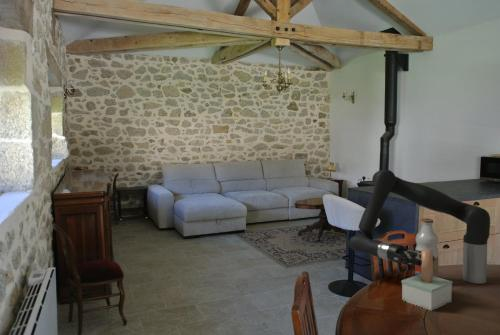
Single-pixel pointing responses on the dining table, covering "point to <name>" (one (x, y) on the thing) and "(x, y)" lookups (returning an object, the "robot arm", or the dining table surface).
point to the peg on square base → (427, 275)
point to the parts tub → (426, 296)
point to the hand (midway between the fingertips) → (427, 261)
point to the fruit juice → (427, 244)
